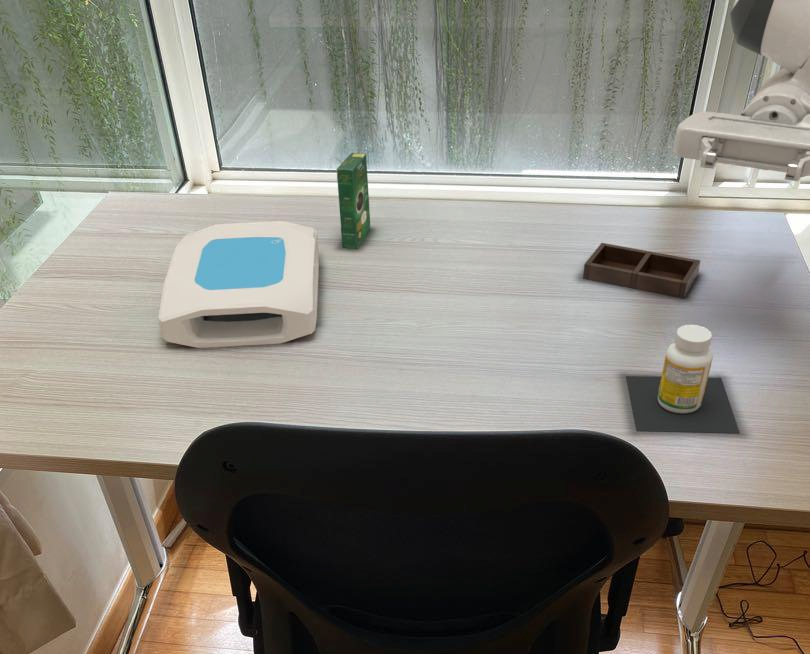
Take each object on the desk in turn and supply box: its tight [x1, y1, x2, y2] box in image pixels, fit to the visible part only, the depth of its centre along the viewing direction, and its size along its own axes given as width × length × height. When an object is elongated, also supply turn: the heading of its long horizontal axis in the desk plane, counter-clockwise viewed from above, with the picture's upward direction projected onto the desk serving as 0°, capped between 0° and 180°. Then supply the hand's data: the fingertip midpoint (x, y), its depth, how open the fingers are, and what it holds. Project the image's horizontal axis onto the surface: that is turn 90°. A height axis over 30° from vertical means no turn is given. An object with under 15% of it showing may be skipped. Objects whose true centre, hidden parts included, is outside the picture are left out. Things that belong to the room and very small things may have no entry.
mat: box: [625, 375, 741, 435], centre depth 108 cm, size 12×12×1 cm
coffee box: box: [335, 152, 371, 250], centre depth 142 cm, size 8×3×13 cm, turn 165°
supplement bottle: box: [658, 324, 714, 414], centre depth 105 cm, size 5×5×10 cm
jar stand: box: [582, 242, 701, 299], centre depth 132 cm, size 15×8×3 cm, turn 63°
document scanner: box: [157, 220, 320, 349], centre depth 130 cm, size 21×28×6 cm
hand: (749, 167), depth 99 cm, fingers open, 8 cm apart
